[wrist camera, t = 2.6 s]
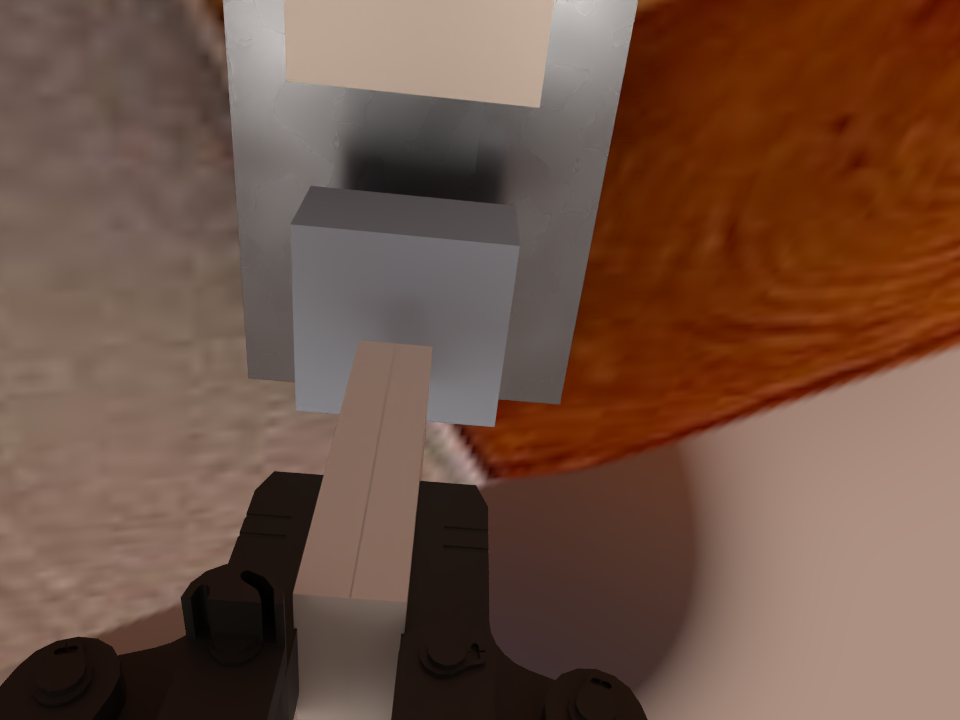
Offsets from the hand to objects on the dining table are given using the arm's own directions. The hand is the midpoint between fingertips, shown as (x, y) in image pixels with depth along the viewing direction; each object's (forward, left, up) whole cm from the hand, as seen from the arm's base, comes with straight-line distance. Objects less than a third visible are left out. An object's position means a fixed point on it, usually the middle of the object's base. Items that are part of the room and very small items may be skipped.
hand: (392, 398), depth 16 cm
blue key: (0, 0, -7) cm, 7 cm away
